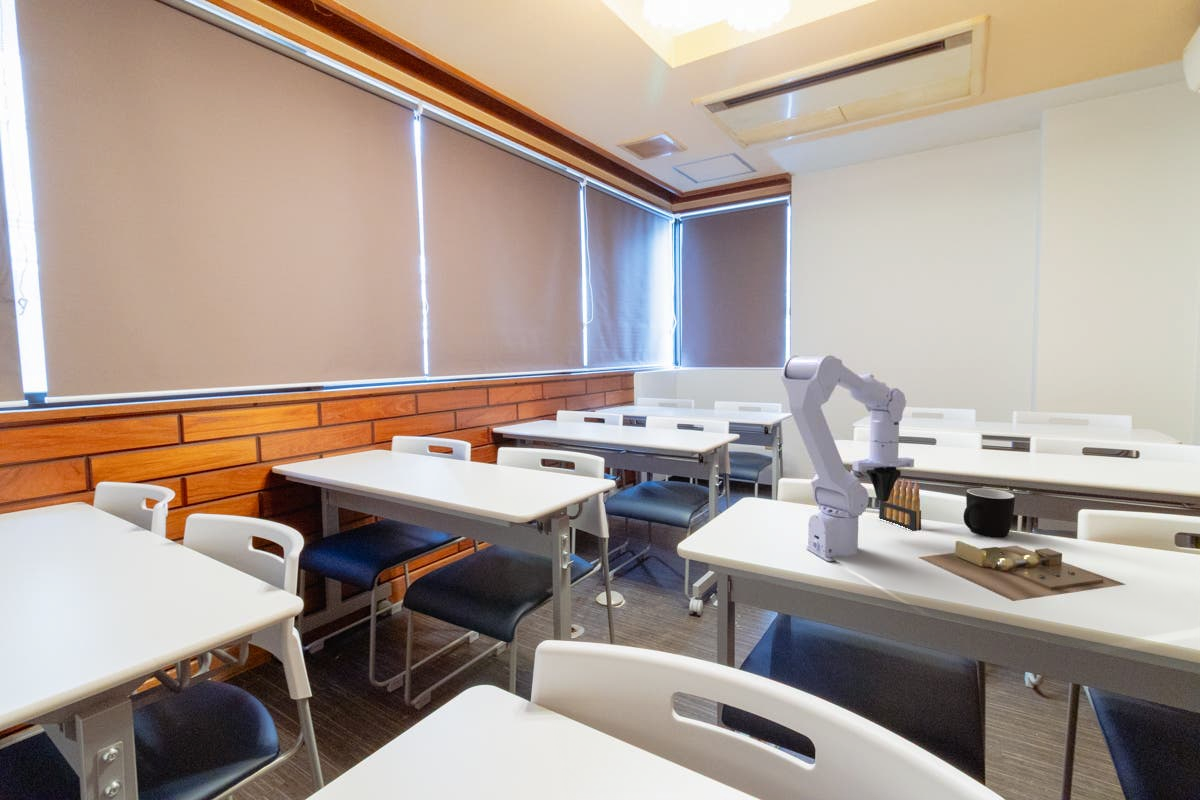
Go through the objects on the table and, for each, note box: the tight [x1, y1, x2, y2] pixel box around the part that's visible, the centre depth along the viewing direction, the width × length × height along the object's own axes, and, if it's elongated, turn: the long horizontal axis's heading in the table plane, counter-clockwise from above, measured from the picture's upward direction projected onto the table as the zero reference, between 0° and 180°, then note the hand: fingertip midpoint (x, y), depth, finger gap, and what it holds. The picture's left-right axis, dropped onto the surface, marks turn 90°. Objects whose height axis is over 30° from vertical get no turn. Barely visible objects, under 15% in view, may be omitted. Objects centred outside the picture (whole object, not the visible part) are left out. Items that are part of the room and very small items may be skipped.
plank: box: [918, 545, 1126, 602], centre depth 102 cm, size 25×20×1 cm
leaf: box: [954, 540, 1046, 571], centre depth 106 cm, size 15×10×3 cm, turn 103°
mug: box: [963, 487, 1016, 539], centre depth 122 cm, size 12×9×10 cm
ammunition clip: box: [878, 477, 922, 532], centre depth 131 cm, size 11×2×12 cm, turn 19°
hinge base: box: [1012, 547, 1103, 590], centre depth 99 cm, size 12×10×3 cm
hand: (882, 500), depth 120 cm, fingers closed
